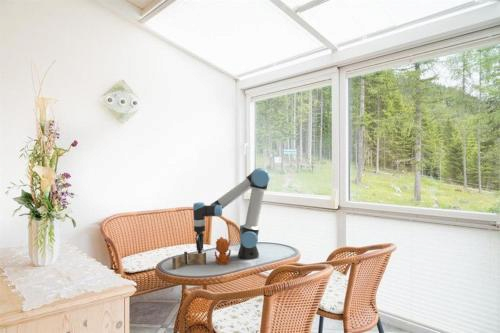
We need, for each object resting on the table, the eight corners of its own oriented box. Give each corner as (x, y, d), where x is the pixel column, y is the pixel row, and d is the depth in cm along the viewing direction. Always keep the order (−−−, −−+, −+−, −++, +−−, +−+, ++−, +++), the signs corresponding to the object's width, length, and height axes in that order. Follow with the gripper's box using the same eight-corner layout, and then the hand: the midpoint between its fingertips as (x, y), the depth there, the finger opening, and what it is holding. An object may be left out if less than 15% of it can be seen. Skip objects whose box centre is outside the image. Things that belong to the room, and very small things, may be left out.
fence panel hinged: (187, 264, 231) (187, 253, 231) (188, 263, 233) (188, 252, 232) (205, 264, 230) (205, 253, 230) (206, 263, 232) (205, 252, 232)
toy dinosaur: (227, 260, 240) (226, 234, 240) (233, 264, 231) (232, 237, 230) (212, 262, 236) (211, 236, 235) (217, 266, 226) (217, 239, 225)
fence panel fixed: (185, 263, 233) (185, 251, 233) (188, 264, 232) (187, 251, 232) (172, 269, 221) (172, 256, 221) (174, 270, 221) (174, 257, 220)
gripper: (202, 227, 226) (203, 262, 227) (207, 223, 239) (208, 257, 240) (191, 227, 227) (192, 262, 228) (196, 223, 240) (197, 256, 241)
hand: (200, 259), depth 234 cm, fingers closed
